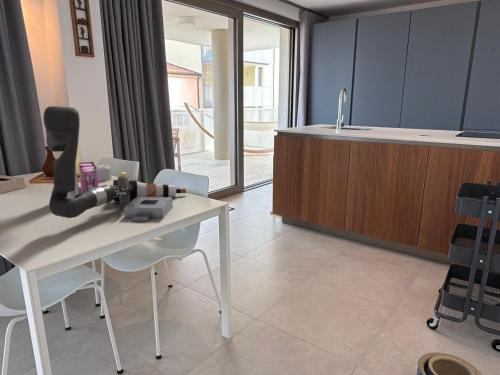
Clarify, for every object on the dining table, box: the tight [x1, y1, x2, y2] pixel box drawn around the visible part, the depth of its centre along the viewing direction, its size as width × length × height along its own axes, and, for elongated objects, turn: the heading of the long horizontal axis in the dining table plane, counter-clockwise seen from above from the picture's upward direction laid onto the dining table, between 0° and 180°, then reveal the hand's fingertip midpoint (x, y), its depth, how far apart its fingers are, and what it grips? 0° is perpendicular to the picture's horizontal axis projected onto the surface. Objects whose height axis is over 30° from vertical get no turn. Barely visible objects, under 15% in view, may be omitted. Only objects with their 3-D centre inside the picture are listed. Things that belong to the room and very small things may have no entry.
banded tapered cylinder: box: [112, 179, 187, 202], centre depth 171 cm, size 10×34×10 cm, turn 110°
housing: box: [123, 197, 174, 223], centre depth 151 cm, size 16×24×4 cm, turn 178°
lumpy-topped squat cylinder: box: [95, 163, 112, 182], centre depth 212 cm, size 10×13×9 cm
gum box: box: [78, 161, 100, 193], centre depth 184 cm, size 24×8×14 cm, turn 28°
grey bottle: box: [117, 171, 131, 210], centre depth 156 cm, size 4×4×16 cm
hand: (127, 186), depth 158 cm, fingers closed on grey bottle, 4 cm apart
